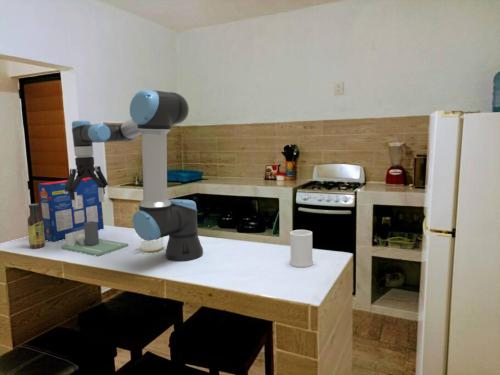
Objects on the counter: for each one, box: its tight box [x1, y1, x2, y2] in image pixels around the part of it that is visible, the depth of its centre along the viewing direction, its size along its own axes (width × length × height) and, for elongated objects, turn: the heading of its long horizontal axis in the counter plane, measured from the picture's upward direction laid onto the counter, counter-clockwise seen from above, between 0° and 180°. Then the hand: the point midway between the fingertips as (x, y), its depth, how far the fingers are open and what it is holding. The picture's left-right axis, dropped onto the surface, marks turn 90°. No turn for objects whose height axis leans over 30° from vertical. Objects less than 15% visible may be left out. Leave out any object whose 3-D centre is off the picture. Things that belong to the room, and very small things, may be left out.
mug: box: [289, 229, 314, 268], centre depth 140 cm, size 12×8×12 cm
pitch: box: [60, 229, 129, 257], centre depth 168 cm, size 25×16×6 cm, turn 60°
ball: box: [77, 234, 85, 242], centre depth 172 cm, size 4×4×4 cm
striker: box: [79, 221, 100, 246], centre depth 169 cm, size 7×6×10 cm
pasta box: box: [37, 177, 105, 243], centre depth 191 cm, size 28×8×28 cm, turn 148°
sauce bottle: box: [27, 203, 46, 249], centre depth 170 cm, size 7×6×20 cm
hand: (89, 204), depth 166 cm, fingers open, 13 cm apart
